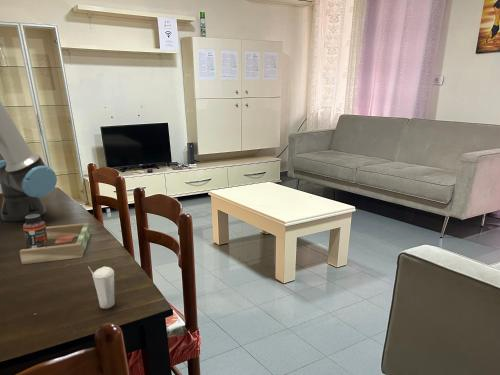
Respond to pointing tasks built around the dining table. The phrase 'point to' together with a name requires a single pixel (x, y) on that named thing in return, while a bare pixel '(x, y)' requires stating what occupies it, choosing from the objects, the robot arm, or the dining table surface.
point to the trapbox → (60, 251)
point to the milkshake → (104, 286)
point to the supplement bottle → (35, 232)
